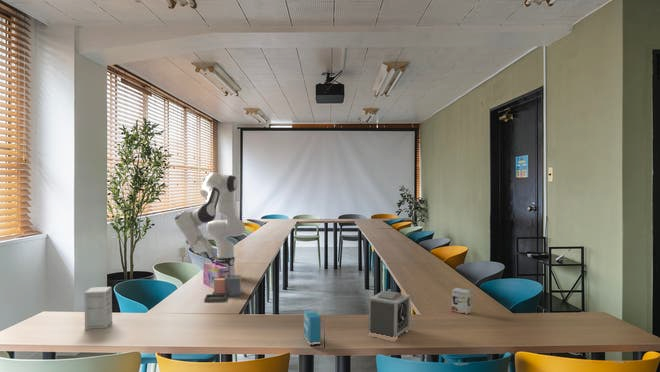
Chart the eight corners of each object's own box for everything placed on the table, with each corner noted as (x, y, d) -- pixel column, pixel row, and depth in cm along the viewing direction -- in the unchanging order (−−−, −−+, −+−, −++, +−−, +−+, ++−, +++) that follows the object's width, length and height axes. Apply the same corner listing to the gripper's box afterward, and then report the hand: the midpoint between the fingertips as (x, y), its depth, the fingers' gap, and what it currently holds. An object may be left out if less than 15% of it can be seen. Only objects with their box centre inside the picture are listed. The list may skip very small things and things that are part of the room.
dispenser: (211, 296, 263) (211, 279, 262) (213, 292, 272) (213, 275, 272) (239, 296, 265) (240, 278, 265) (240, 291, 275) (240, 274, 274)
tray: (204, 302, 252) (204, 298, 252) (206, 297, 261) (206, 294, 261) (225, 301, 253) (225, 298, 253) (226, 297, 262) (226, 294, 262)
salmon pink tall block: (213, 295, 266) (214, 279, 266) (214, 293, 269) (214, 278, 269) (224, 295, 267) (224, 279, 267) (225, 293, 270) (225, 278, 270)
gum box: (201, 283, 294) (201, 262, 294) (213, 281, 300) (213, 260, 299) (218, 291, 276) (218, 268, 276) (230, 289, 281) (230, 266, 281)
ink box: (451, 311, 240) (451, 289, 239) (455, 309, 243) (455, 287, 243) (466, 315, 234) (466, 292, 233) (470, 313, 237) (471, 290, 237)
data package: (303, 337, 200) (303, 309, 200) (313, 336, 201) (313, 308, 201) (310, 347, 188) (310, 318, 188) (320, 346, 190) (321, 317, 189)
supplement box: (112, 321, 217) (112, 286, 217) (106, 328, 208) (106, 291, 208) (91, 322, 216) (90, 287, 215) (83, 329, 207) (83, 292, 206)
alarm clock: (394, 342, 195) (395, 299, 195) (366, 336, 202) (367, 294, 202) (410, 329, 211) (411, 290, 210) (384, 324, 218) (385, 286, 217)
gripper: (206, 232, 252) (220, 252, 255) (193, 236, 268) (206, 255, 271) (197, 238, 249) (211, 259, 251) (184, 242, 265) (197, 262, 267)
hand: (208, 257), depth 261 cm, fingers open, 8 cm apart
